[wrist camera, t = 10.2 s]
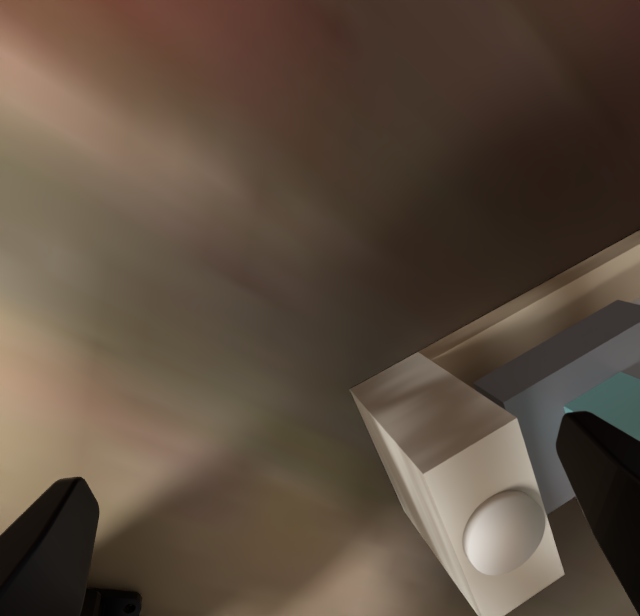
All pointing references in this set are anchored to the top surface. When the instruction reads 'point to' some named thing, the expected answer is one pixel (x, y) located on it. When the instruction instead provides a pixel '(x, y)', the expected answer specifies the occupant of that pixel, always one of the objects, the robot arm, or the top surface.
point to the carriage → (571, 388)
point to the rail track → (484, 435)
